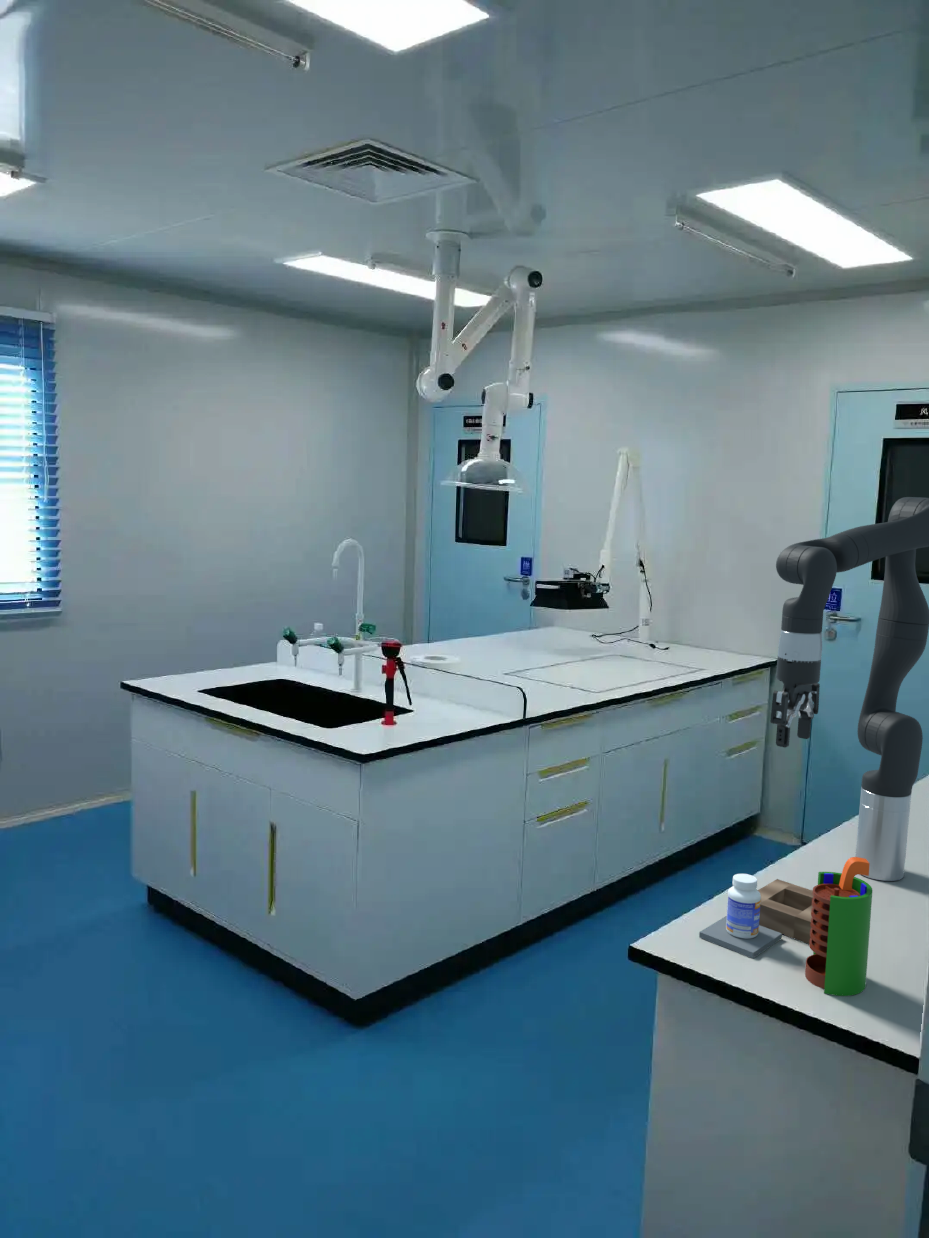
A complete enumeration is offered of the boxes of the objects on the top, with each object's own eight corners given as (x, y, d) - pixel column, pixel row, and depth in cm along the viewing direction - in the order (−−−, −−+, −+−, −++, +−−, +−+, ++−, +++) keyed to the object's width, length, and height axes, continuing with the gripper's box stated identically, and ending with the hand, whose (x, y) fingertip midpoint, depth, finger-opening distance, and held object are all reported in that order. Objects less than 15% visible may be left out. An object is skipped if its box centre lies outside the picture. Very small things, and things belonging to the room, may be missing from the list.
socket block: (775, 899, 181) (777, 878, 180) (841, 921, 172) (843, 900, 171) (742, 919, 172) (743, 898, 171) (810, 944, 163) (811, 922, 163)
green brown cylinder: (793, 963, 157) (802, 845, 154) (846, 962, 157) (856, 845, 154) (821, 996, 147) (831, 871, 144) (877, 995, 147) (889, 870, 144)
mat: (728, 919, 172) (729, 914, 172) (781, 938, 165) (781, 933, 165) (699, 937, 165) (699, 931, 165) (752, 958, 158) (753, 952, 158)
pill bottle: (759, 941, 162) (763, 886, 160) (726, 937, 163) (730, 882, 161) (756, 926, 167) (760, 873, 166) (724, 923, 168) (728, 870, 167)
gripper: (797, 648, 183) (791, 731, 185) (761, 657, 173) (755, 744, 175) (836, 654, 178) (829, 739, 180) (801, 663, 168) (794, 753, 170)
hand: (792, 742), depth 177 cm, fingers open, 8 cm apart
